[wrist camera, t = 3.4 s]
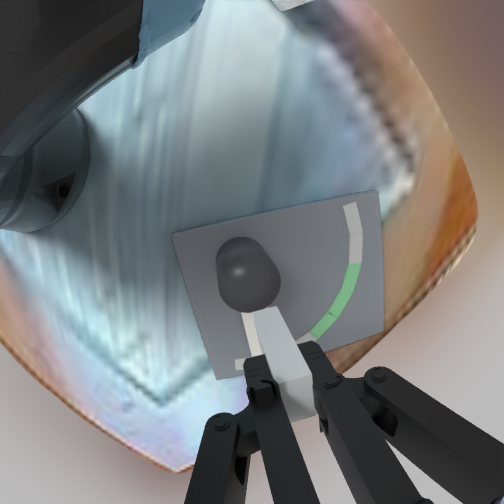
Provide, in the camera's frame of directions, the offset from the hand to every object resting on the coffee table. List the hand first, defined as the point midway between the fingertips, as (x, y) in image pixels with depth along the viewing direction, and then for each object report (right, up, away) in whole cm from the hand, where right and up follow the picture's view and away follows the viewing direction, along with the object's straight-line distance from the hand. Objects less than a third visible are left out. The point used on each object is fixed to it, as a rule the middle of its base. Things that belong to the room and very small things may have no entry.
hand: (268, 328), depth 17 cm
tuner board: (+4, +1, +15) cm, 16 cm away
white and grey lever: (-1, -1, +13) cm, 13 cm away
